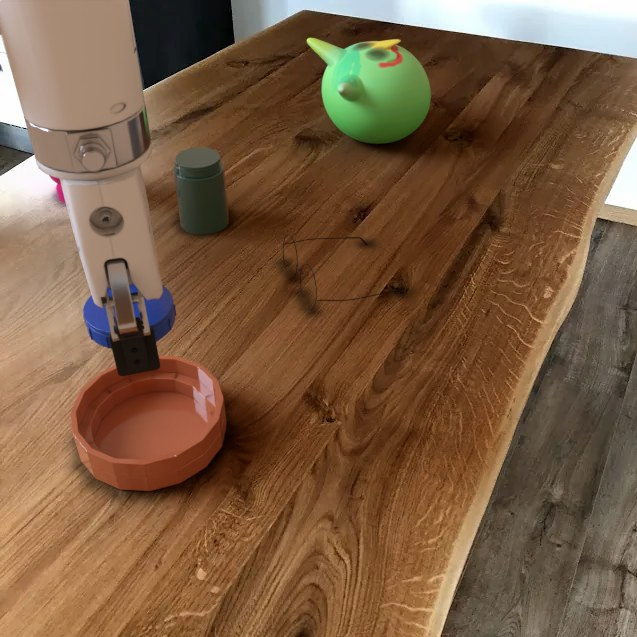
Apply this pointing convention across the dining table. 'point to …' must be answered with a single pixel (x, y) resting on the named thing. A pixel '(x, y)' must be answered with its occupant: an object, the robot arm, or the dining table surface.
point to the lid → (157, 312)
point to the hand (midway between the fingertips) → (134, 338)
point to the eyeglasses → (313, 273)
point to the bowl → (149, 424)
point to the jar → (201, 190)
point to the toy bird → (373, 89)
